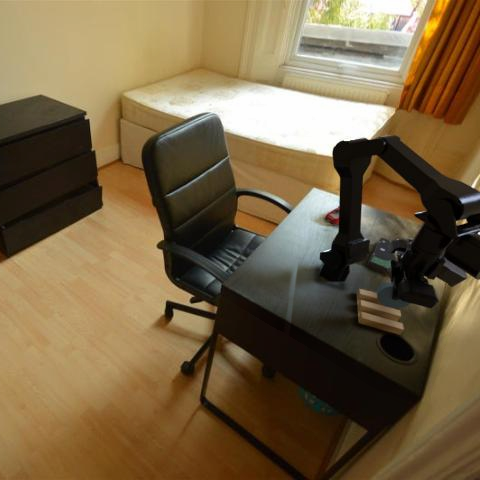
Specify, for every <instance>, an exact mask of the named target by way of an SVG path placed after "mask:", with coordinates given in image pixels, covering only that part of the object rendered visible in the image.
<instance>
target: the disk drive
mask: <svg viewBox="0 0 480 480" xmlns="http://www.w3.org/2000/svg"><path fill="white" fill-rule="evenodd" d="M391 242H392V241H390V239H387V238H384V237H380V238H379V240H378V242H377V243H376V246H375V248H374V251H373V252H372V255H371V256H370V258H369V260H368V262H367V264H366V268H371V269H375V270H378V271H380V272H383V273H385V274H387V275H390V276H391V263H390V261H391V260H396V259H397V254H398V255H399V253H400V254H403V252H401V251H397V250H396V252H395V253H394V254H391V253H390V252H389V245H390V243H391Z"/></svg>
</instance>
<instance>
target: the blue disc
mask: <svg viewBox="0 0 480 480" xmlns="http://www.w3.org/2000/svg"><path fill="white" fill-rule="evenodd" d="M392 288H393V282H391V281H388V282H384V283H382V284H381V285H379V286H378V288H377V289H376V293H377V299H378V301H379V302H380V303H381V304H382V305H384V306H386V307H390V308H396V309H402V308H406V307H408V306H409V305H412V303H408V302H404V301H402V300H401V299H399V300H393V299H392Z"/></svg>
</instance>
